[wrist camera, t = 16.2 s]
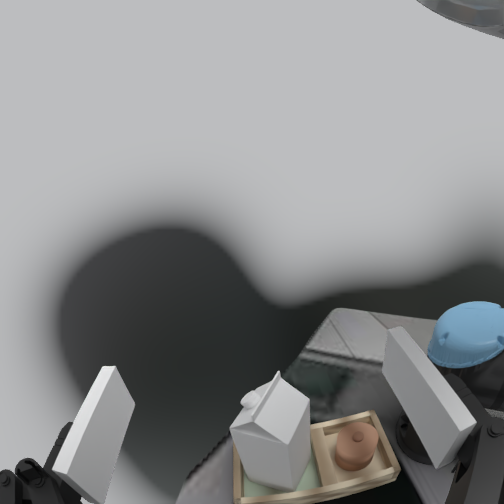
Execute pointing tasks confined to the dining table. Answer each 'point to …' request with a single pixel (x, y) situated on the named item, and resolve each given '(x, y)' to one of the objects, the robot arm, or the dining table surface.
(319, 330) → the dining table surface
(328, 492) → the caddy
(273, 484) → the milk carton
